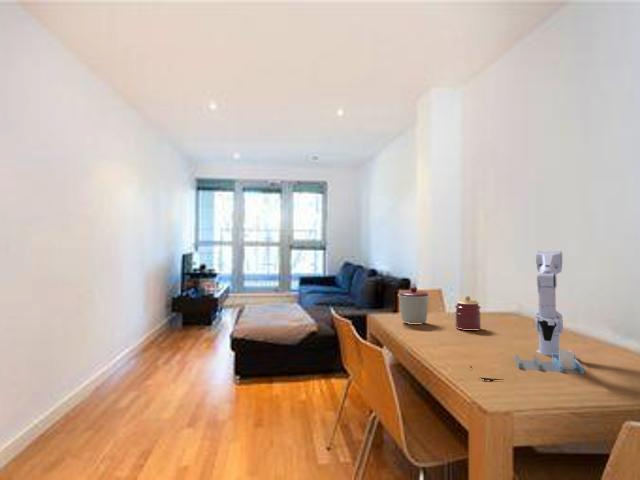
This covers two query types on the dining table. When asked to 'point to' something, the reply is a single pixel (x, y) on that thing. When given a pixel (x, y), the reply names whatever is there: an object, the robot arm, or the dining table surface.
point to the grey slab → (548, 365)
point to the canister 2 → (468, 314)
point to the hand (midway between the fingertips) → (547, 340)
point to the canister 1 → (414, 305)
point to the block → (566, 359)
